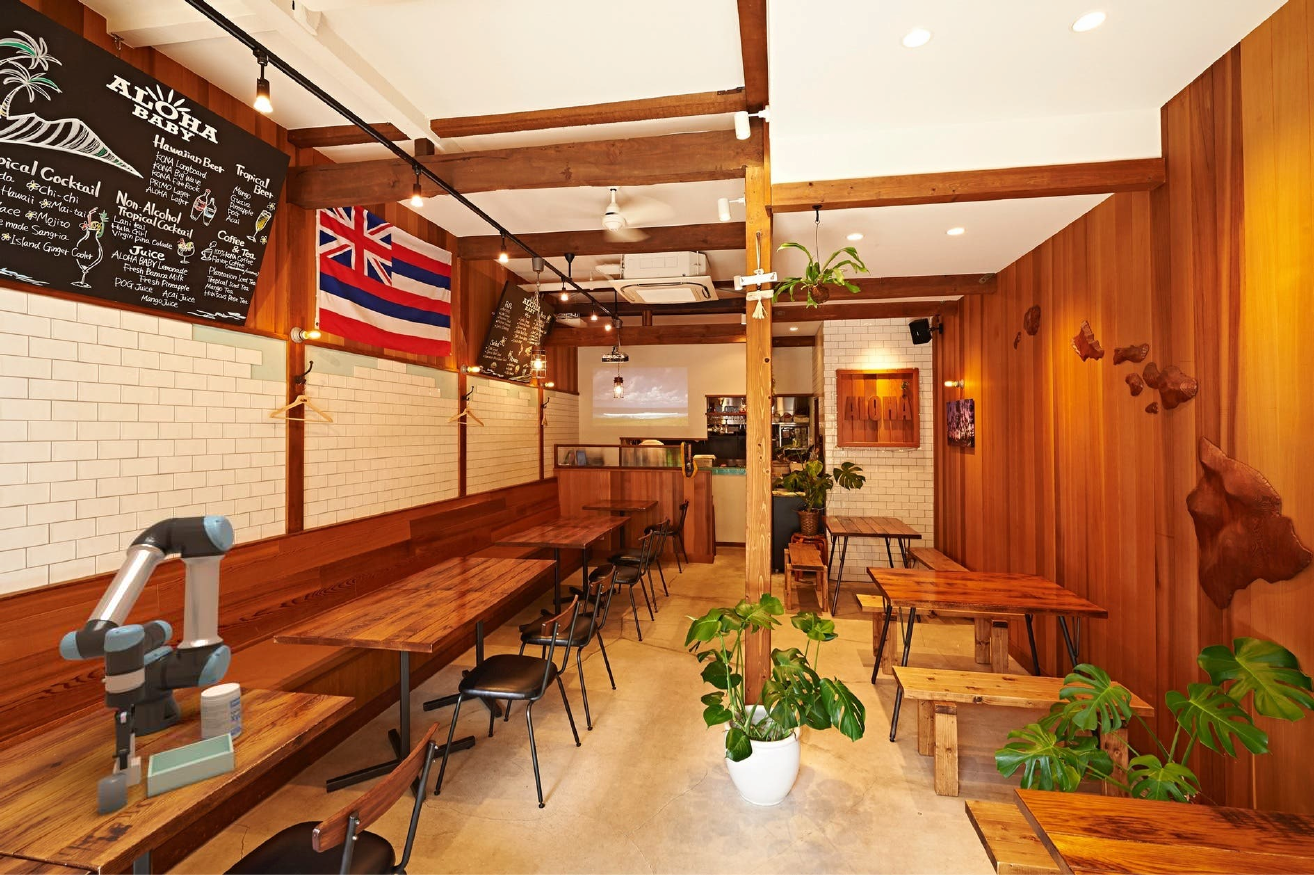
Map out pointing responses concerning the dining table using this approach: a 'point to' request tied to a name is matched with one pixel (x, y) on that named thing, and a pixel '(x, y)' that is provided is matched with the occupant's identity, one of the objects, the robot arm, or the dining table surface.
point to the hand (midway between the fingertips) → (126, 770)
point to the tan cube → (133, 771)
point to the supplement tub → (221, 711)
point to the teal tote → (190, 764)
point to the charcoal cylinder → (112, 793)
